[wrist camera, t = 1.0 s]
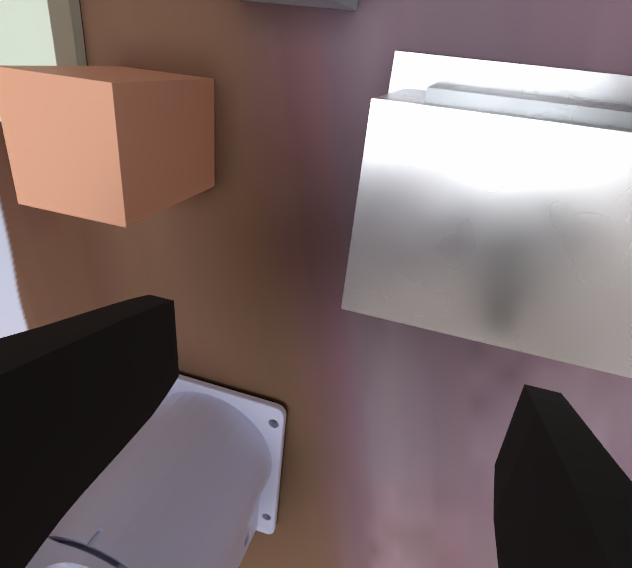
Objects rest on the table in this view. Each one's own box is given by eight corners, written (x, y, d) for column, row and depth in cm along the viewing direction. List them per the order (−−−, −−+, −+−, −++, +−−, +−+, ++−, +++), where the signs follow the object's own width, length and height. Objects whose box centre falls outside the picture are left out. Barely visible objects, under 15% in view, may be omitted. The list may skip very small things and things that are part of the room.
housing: (651, 313, 15) (752, 447, 10) (365, 253, 17) (318, 336, 12) (765, 91, 12) (1006, 109, 7) (397, 51, 14) (354, 40, 9)
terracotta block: (214, 186, 18) (125, 227, 14) (129, 170, 19) (18, 203, 14) (214, 78, 16) (111, 82, 12) (120, 66, 17) (-11, 65, 13)
